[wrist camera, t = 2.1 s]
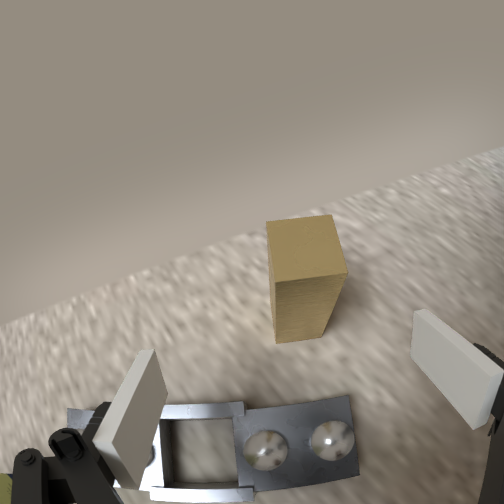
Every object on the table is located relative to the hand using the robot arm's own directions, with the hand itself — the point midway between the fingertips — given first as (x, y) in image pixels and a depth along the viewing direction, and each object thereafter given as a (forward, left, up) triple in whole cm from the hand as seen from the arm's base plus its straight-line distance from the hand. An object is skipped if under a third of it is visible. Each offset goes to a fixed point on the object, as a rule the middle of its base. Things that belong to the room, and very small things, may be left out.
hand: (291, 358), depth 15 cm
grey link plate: (+7, +5, -9) cm, 12 cm away
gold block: (-1, -5, -9) cm, 11 cm away
